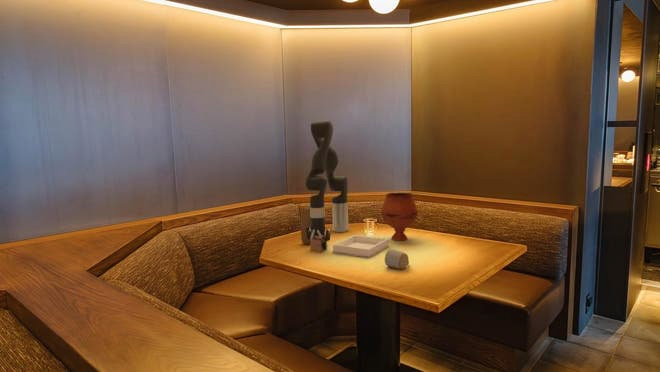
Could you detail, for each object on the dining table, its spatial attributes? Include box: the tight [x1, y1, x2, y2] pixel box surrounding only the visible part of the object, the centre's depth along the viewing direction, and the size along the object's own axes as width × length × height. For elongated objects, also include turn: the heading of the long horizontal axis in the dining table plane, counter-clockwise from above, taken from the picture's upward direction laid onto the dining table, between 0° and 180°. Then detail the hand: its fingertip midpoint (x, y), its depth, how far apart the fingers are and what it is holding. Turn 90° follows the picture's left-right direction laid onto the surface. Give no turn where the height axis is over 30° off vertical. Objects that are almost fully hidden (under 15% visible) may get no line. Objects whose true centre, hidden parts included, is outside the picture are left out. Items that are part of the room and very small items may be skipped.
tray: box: [332, 234, 390, 259], centre depth 213 cm, size 22×20×4 cm
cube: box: [309, 237, 328, 253], centre depth 215 cm, size 6×6×6 cm
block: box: [300, 205, 320, 245], centre depth 230 cm, size 11×8×20 cm
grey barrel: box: [384, 248, 410, 270], centre depth 184 cm, size 11×8×8 cm
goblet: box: [381, 192, 418, 241], centre depth 231 cm, size 19×19×25 cm
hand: (318, 248), depth 215 cm, fingers closed on cube, 6 cm apart
